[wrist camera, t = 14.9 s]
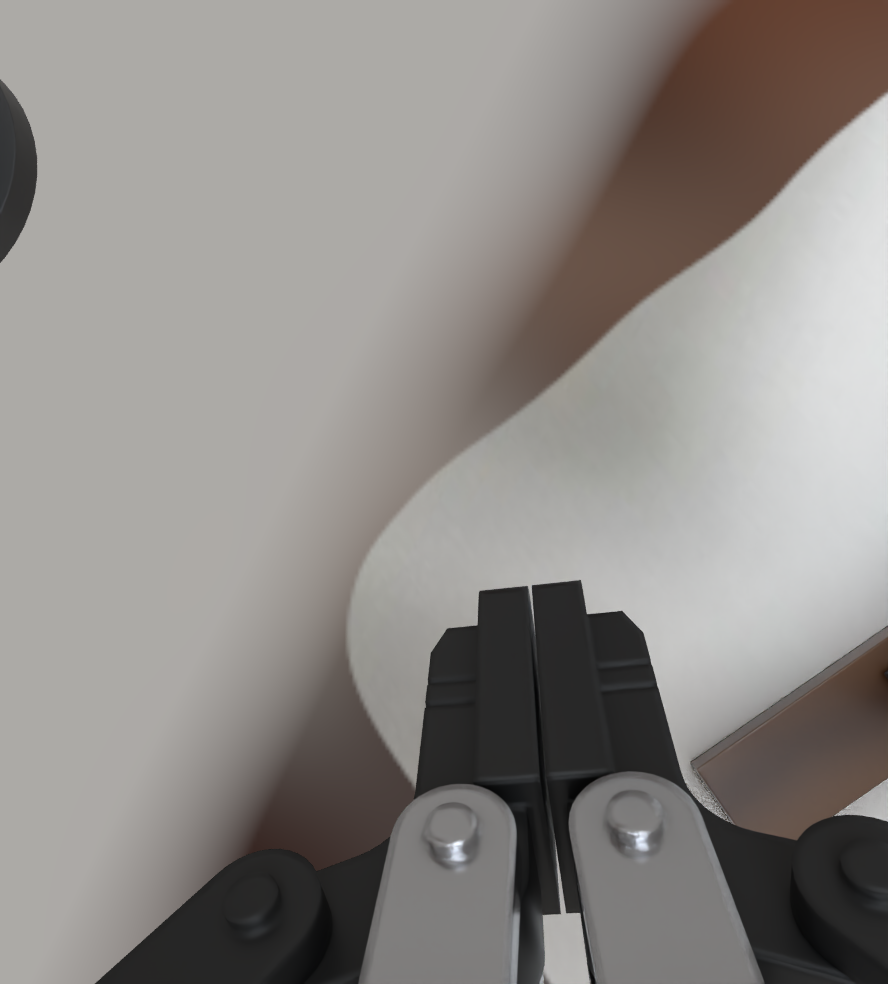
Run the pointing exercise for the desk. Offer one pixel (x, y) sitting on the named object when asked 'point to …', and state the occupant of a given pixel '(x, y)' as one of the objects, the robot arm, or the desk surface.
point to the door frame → (807, 749)
